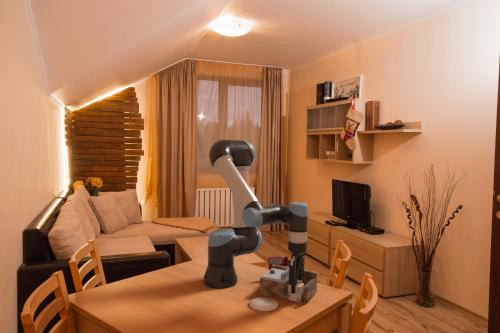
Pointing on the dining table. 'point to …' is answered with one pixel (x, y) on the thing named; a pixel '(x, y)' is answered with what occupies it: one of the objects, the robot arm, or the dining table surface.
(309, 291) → the wooden frame
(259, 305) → the dish
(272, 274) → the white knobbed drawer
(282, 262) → the toy fire truck
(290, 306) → the dining table surface
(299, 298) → the block
